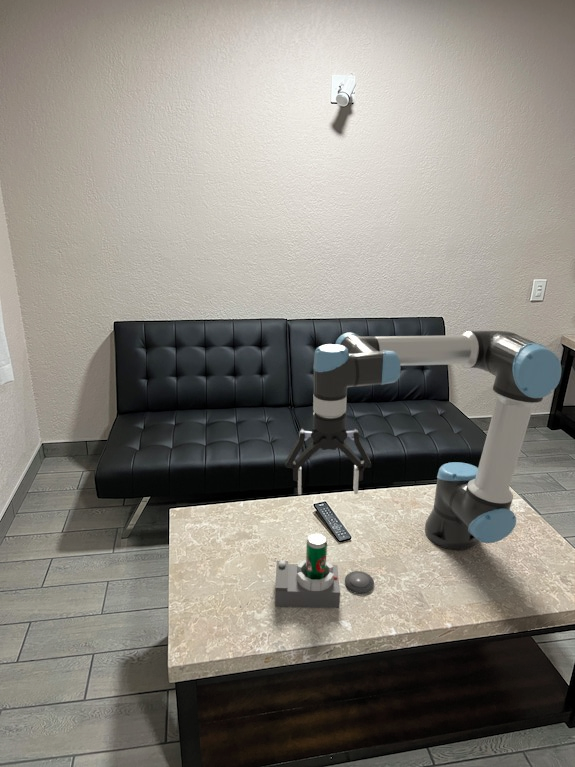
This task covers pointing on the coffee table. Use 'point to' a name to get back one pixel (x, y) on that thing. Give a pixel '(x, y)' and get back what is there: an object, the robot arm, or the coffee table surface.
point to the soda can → (316, 557)
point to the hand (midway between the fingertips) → (327, 491)
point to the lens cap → (359, 582)
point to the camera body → (306, 587)
